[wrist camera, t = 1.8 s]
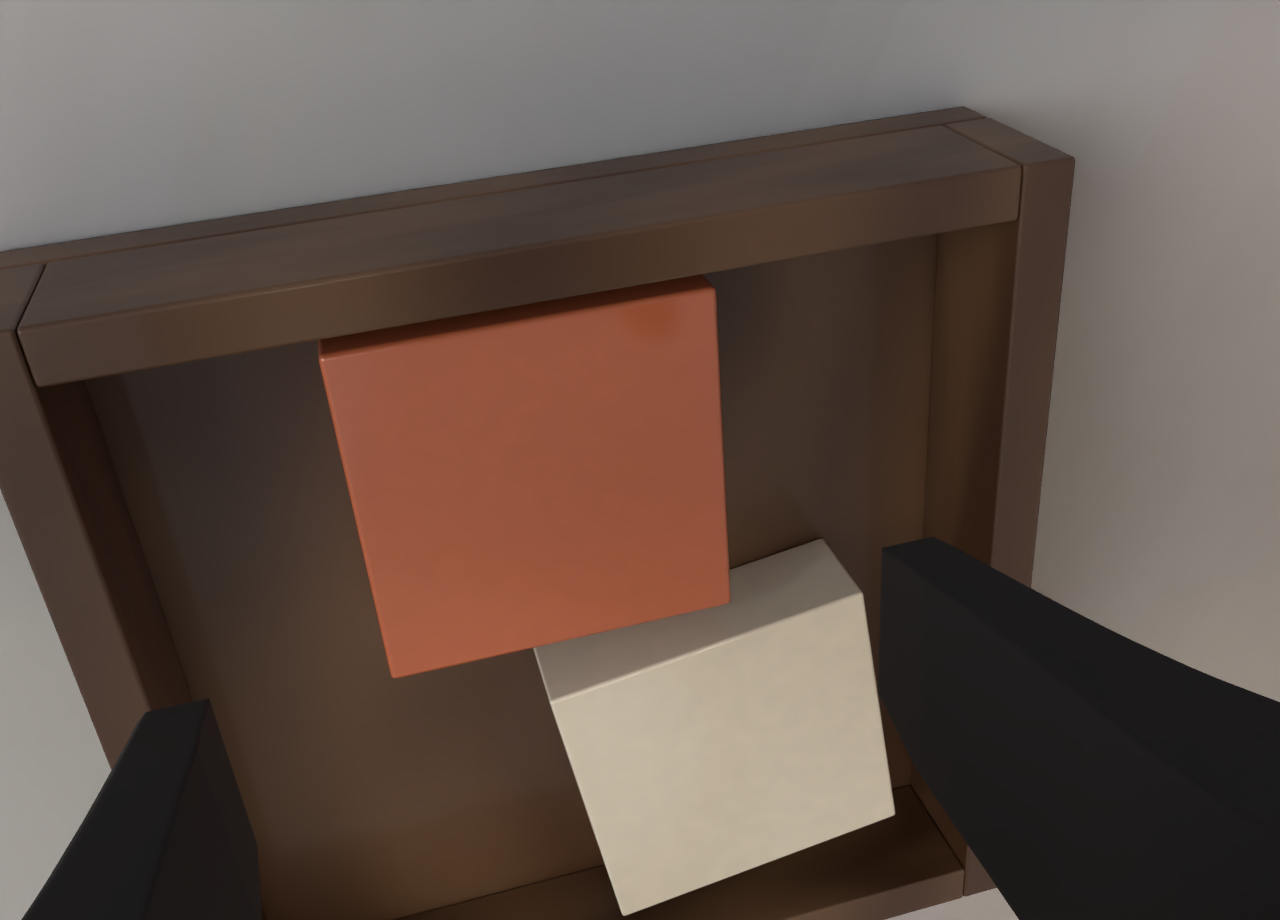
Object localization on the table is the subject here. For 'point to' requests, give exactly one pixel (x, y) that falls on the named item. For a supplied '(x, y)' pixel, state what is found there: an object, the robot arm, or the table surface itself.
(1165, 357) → the table surface
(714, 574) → the terracotta coaster
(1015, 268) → the tray
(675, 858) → the cream coaster
